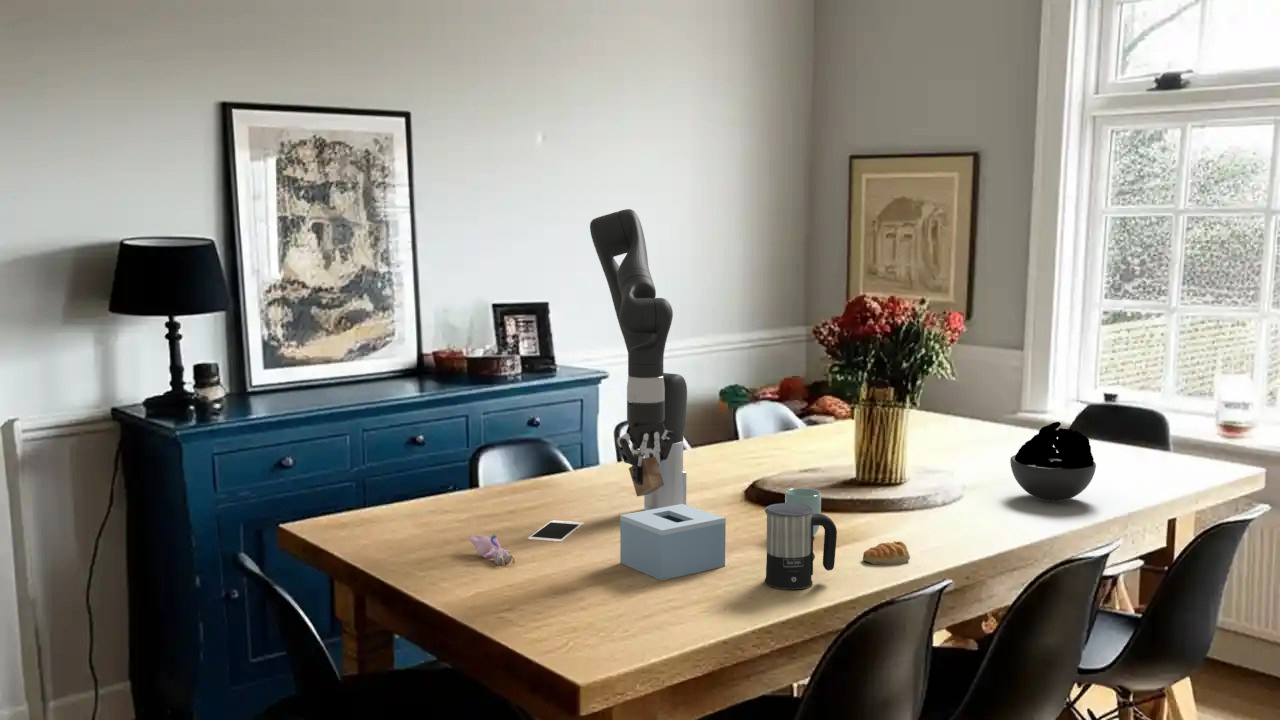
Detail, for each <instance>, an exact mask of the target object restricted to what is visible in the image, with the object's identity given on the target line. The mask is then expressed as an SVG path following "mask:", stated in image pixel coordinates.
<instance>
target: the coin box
mask: <svg viewBox="0 0 1280 720" xmlns="http://www.w3.org/2000/svg"><path fill="white" fill-rule="evenodd" d="M726 521H727V520H726V517H724V516H720V515H718V514H715V513H713V512H709V511H706V510H703V509H699V508H697V507H694V506H691V505H689V504H688V505H687V504H686V505H685V504H679V505H673V506H668V507H662V508H657V509H651V510H646V511H644V510H640V511H636V512H631V513H625V514H620V520H619V523H620V527H619V529H620V531H619V532H620V533H619V534H620V536H619V537H620V540H619V542H620V544H619V547H620V551H619V552H620V562H619V563H620V564H622V565H624V566H625V567H626V566H627V567H629V568H632V569H633V570H636V571H638V572H641V573H643V574H646V575H648V576H650V577H652V578H655V579H657V580H659V581H666V580H669V579H674V578H678V577H679V578H680V577H682V576H687V575H691V574H692V575H693V574H696V573H702V572H705V571H706V572H707V571H710V570H714V569H718V568H722V567H723V568H724V567H725V566H726V523H727V522H726Z"/></svg>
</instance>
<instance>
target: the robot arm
mask: <svg viewBox="0 0 1280 720" xmlns="http://www.w3.org/2000/svg"><path fill="white" fill-rule="evenodd" d="M589 230H590V231H589V232H590V235H591V236H590V237H591V239H592V243H593V246H594V250H595V252H596V254H597V258H598V261H599V262H600V265H601V269H602V271H603V274H604V276H605V280H606V281H607V285H608V288H609V292H610V294H611V299H612V303H613V306H614V311H615V315H616V318H617V321H618V325H619V328H620V331H621V334H622V336H623V337H622V338H623V340H624V344H625V347H626V350H627V362H628V363H627V373H628V374H627V375H628V376H627V382H626V383H627V385H626V420H627V423H628V425H627V429H626V432H625V433H624V434H623V435H622V436H616V437H615V439H614V441H615V444H616V446H617V448H618V451H619V453H620V455H621V457H622V460H623V463H625V464H629V465H631V467H632V466H633V481H635V483H636V484H638V485H642V484H643V467H642V465H643V458H649V457H656V460H657V463H658V466H659V470H660V473H661V476H662V479H663V483H664V485H663V486H662V487H660V488H659V489H657V490H655V491H654V492H652V493H651V494H649V495H643V499H644V503H643V504H644V507H643V509H644V510H643V511H646V510H651V509H657V508H662V507H668V506H673V505H679V504H685V505H687V475H688V474H687V471H686V470H684V435H685V434H684V433H685V430H686V429H685V428H686V424H687V422H686V421H687V420H686V419H687V405H688V402H687V401H688V386H687V382H686V380H685V378H684V377H683V375H681V374H678V373H669V372H664V358H665V357H664V355H665V348H666V343H667V339H668V336H669V332H670V328H671V325H672V322H673V317H674V315H673V313H674V312H673V308H672V305H671V303H670V301H668V299H666V298H664V297H663V298H662V297H657V296H656V295H657V292H656V287H655V284H654V281H653V277H652V274H651V271H650V268H649V261H648V260H649V259H648V252H647V251H648V250H647V245H646V239H645V234H644V228H643V226H642V222H641V219H640V217H639V215H638V214H637V213H636V212H635V210H633V209H629V208H627V209H622V210H618V211H615V212H612V213H608V214H604V215H602V216H598V217H596V218H593V219H592V220H591V221H590V223H589ZM625 254H626V255H625ZM621 255H625V257H624V258H623V259H622V261H621V263H620V265H619V264H618V262H617V261H616V259H615V257H618V256H621ZM630 445H631V447H630ZM633 481H632V482H633Z"/></svg>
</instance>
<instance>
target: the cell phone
mask: <svg viewBox="0 0 1280 720" xmlns="http://www.w3.org/2000/svg"><path fill="white" fill-rule="evenodd" d="M581 525H582V526H583V525H584V522H580V521H568V520H555V519H553V520H551V521H549V522H548V523H546V524H545V525H544V526H542V527H541V528H540V529H538V530H536V531H535V532H534V533H532V534H531V535H530V536H528V537H527V540H528V539H529V540H530V541H539V540H543V541H542V542H551V541H553V542H554V543H561V541H562V542H563V541H564V540H565V539H567V538H568V537H569V536H570V535H572V534H573V533H575V531H577V530H578V529H580V527H582V526H581ZM576 529H577V530H576ZM553 542H552V543H553Z"/></svg>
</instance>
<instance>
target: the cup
mask: <svg viewBox="0 0 1280 720" xmlns="http://www.w3.org/2000/svg"><path fill="white" fill-rule="evenodd" d="M784 496H785V497H784V501H785V502H784V503H796V504H802V505H807V506H810V507H812V508H813V511H812V512H811V514H822V513H821V512H822V493H821V490H818V489H816V488H815V489H814V488H809V487H808V488H807V487H795V488H794V487H793V488H790V489H789V488H788V489H786V491H785V495H784ZM819 529H820V525H815V526H813V537H815V536H816V534H817V533H818V531H819Z"/></svg>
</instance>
